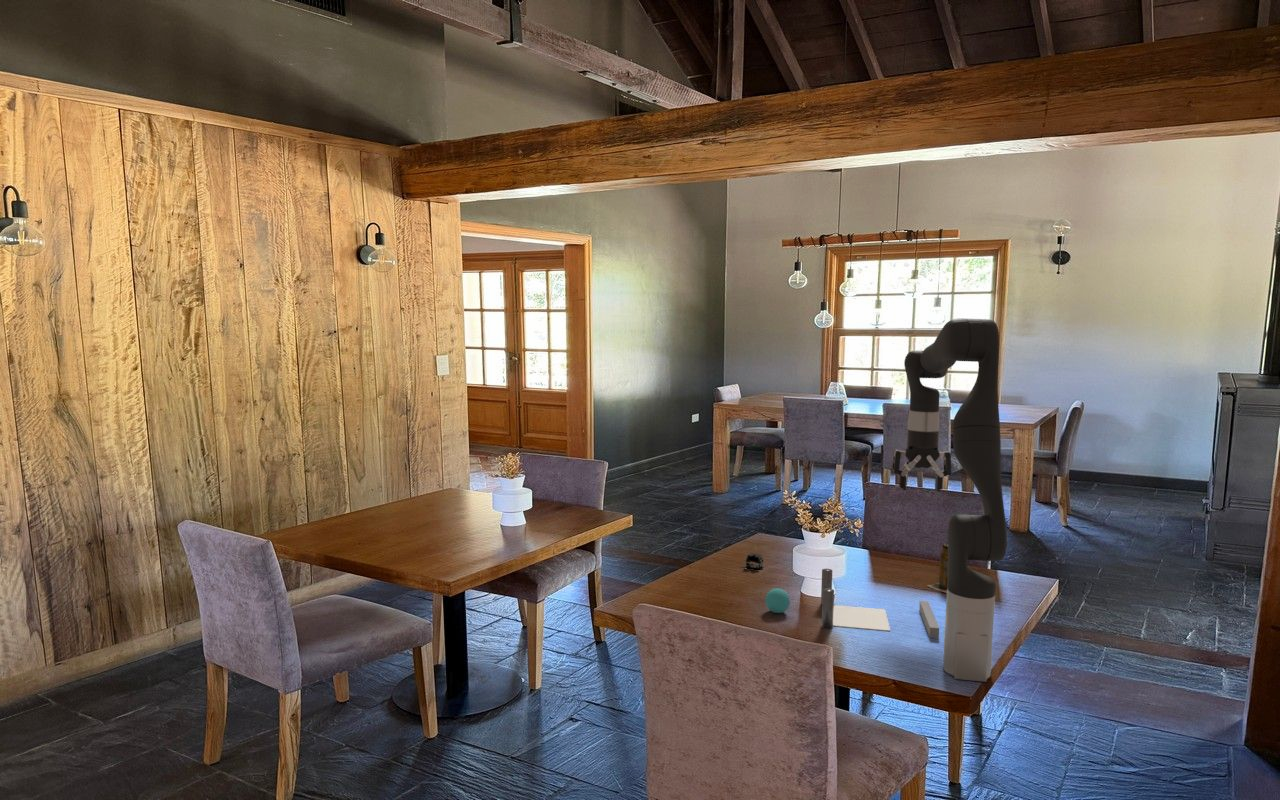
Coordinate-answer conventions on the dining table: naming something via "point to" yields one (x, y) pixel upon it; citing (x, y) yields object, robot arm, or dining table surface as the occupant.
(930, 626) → the wall
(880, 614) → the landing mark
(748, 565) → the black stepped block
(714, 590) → the dining table surface
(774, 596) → the ball
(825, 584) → the post back
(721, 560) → the dining table surface
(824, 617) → the post front
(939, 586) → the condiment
